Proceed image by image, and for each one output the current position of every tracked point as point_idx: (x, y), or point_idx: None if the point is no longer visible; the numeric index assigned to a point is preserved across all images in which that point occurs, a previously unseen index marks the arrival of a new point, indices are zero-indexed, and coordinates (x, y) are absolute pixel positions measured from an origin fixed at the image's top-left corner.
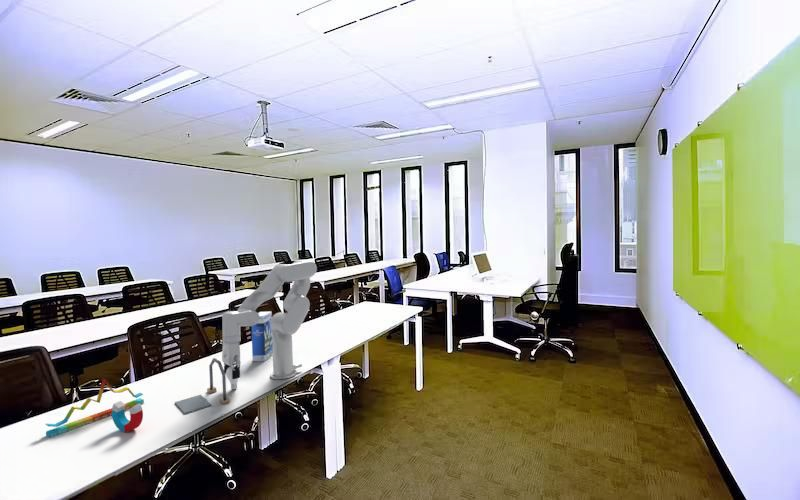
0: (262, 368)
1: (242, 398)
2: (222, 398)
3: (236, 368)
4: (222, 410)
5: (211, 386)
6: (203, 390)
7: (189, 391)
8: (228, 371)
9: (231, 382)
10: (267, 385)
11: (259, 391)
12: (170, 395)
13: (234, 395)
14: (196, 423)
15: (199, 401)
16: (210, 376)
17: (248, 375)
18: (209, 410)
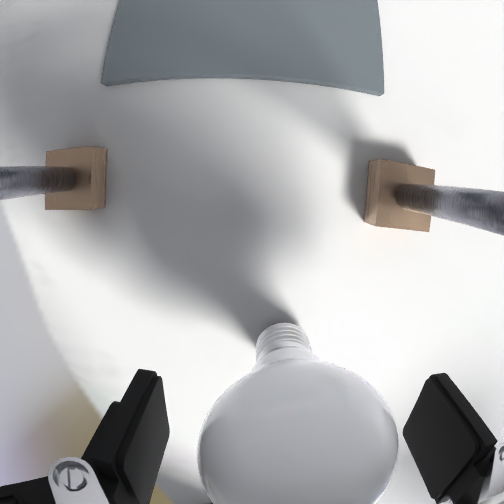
0: (407, 497)
1: (66, 295)
2: (87, 167)
3: (29, 486)
4: (7, 132)
5: (409, 191)
6: (460, 167)
7: (499, 107)
8: (274, 436)
9: (269, 355)
10: (166, 463)
11: (107, 406)
12: (499, 28)
13: (152, 286)
14: (9, 12)
15: (236, 29)
16: (481, 193)
17: (406, 453)
18: (59, 65)
